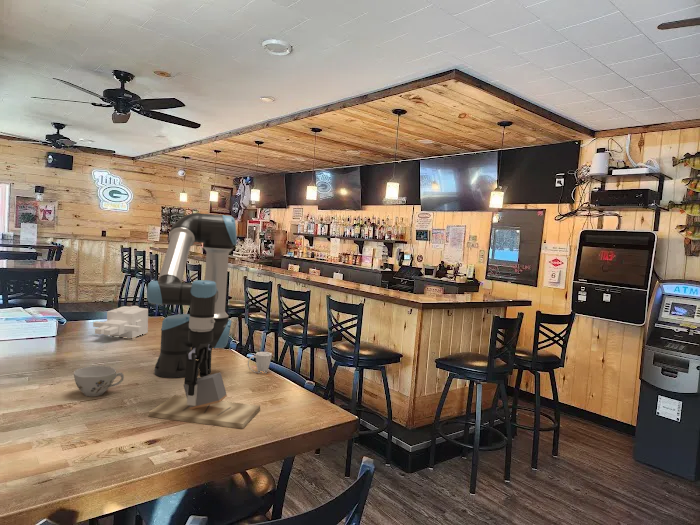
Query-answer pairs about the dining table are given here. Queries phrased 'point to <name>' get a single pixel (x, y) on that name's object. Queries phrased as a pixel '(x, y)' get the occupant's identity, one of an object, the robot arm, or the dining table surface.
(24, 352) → the dining table surface
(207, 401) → the block
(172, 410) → the board
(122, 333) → the white voxel figure
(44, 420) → the dining table surface
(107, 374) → the teacup
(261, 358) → the cup
